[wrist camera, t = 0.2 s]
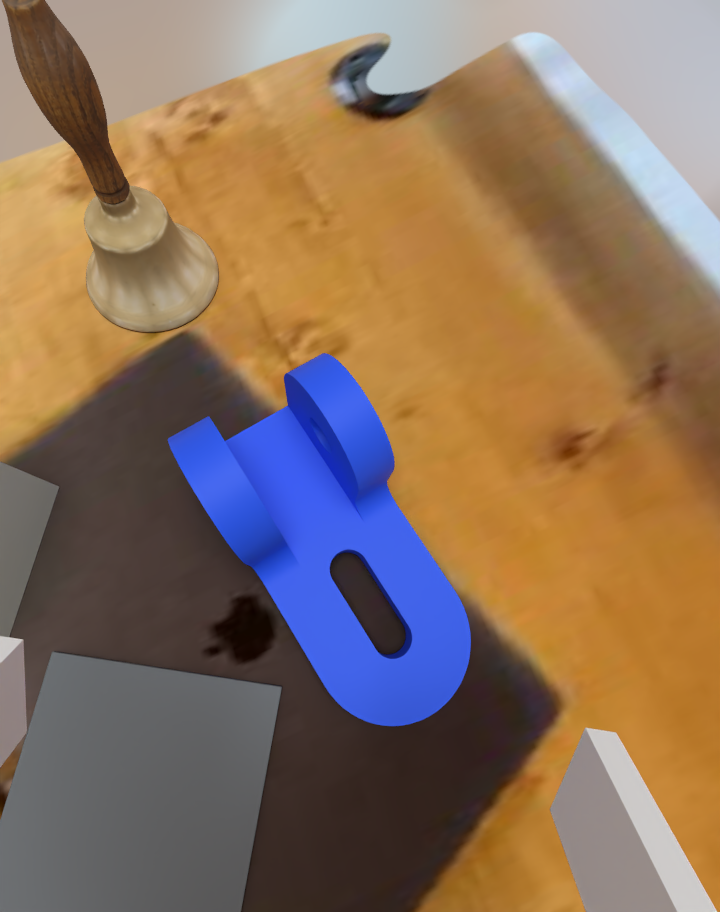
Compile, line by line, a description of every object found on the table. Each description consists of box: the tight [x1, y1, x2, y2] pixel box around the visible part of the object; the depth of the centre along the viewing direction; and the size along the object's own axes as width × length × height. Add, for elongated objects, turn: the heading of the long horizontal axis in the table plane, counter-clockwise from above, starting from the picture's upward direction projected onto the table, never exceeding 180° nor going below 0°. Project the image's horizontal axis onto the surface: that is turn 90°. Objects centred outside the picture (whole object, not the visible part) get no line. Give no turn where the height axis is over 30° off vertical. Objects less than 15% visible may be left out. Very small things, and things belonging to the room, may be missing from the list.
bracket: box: [168, 353, 471, 726], centre depth 24 cm, size 18×8×9 cm, turn 33°
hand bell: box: [2, 0, 219, 332], centre depth 25 cm, size 8×8×16 cm
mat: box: [0, 651, 282, 912], centre depth 24 cm, size 14×12×1 cm
